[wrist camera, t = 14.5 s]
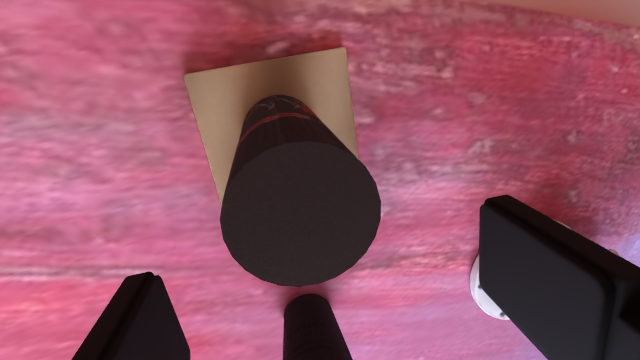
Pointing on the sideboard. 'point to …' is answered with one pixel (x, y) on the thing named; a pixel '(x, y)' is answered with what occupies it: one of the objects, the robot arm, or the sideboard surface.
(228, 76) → the coaster
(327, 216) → the deodorant
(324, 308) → the drinking cup
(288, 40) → the sideboard surface
